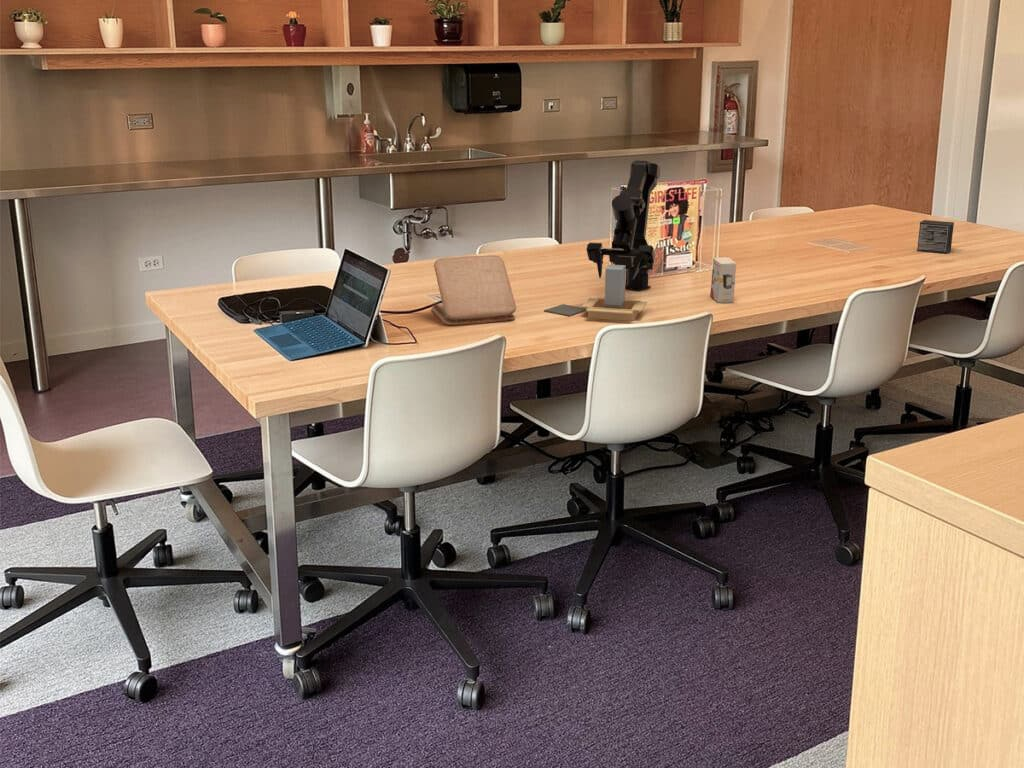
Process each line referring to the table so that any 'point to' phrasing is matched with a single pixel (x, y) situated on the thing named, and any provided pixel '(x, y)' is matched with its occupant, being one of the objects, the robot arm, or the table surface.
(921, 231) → the small box
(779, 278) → the table surface
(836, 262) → the table surface
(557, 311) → the mat
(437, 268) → the case
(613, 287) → the slate box
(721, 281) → the ink box
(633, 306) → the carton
